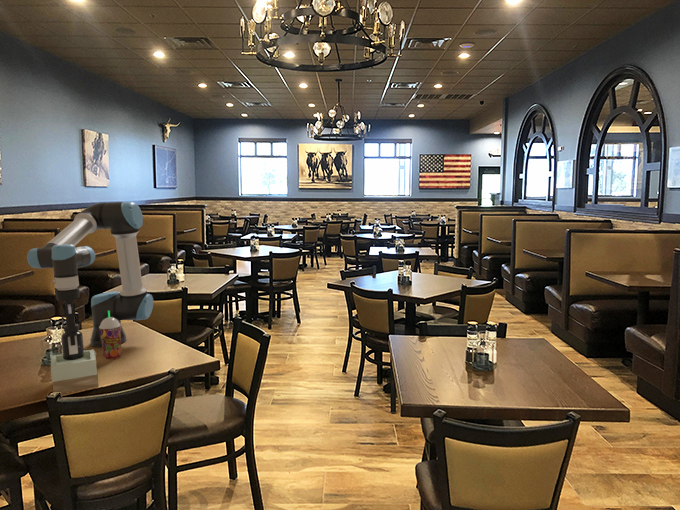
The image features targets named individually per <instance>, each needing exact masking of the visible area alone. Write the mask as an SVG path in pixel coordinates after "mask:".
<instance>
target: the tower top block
mask: <svg viewBox="0 0 680 510" xmlns="http://www.w3.org/2000/svg"><path fill="white" fill-rule="evenodd" d="M94 351H95V349H89V350H88V349H87V351H85V350H84V356H83V357H82V358H80V359H77V360H64V359H63V353H62V354H61V353H60V354H55V355H54V354H53V355H51V358H50V374H51V382H52V383H53V382H57V381H62V380H68V379H74V378H80V377H86V376H92V375H97V374H98V372H97V371H98V370H97V359H96V358H95V353H94Z"/></svg>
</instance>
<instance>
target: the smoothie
mask: <svg viewBox="0 0 680 510" xmlns="http://www.w3.org/2000/svg"><path fill="white" fill-rule="evenodd" d="M121 326H122V323H121V324H120V323H119V321H118V320H117V319H116V318H113V317H110V311H108V317H107V318H105V319H104V320H103V321H102V322H101V324H100V326H99V329H100V336H101V342H102V347H101V348H102V354H103V356H104V358H105V360H115V359H116V360H117V359H119V358H120V356H121V354H122V343H121Z"/></svg>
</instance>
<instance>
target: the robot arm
mask: <svg viewBox="0 0 680 510" xmlns="http://www.w3.org/2000/svg"><path fill="white" fill-rule="evenodd" d="M143 221H144V216H143V212H142V210H141V208H140V206H139V205H138V204H137V203H135V202H132V201H113V202H112V201H111V202H99V203H98V202H97V203H94V204H92V205H90V206H88V207H86V208H84V209H83V210H81V211H80V212H78V213H77V214H76V215H75V216H74V218H73V221H72V222H70V223H69V224H68V225H67V226H66V227H64V228H63V229H62V230H61V231H59V233H57V235H55V236H54V237H53V238H51V239H50V240H49V241H48V242H47V243H45V245H43V246H42V247H36V248H35V247H34V248H31V249H29V251H28V252H27V257H26V260H27V262H28V265H29V266H30V267H31V268H33V269H41V270H42V269H53V279H54V280H52V283H54V288H55V291H54V292H55V299H56V301H59V302H63V301H64V302H63V304H62V310H63V315H64V318H65V322H66V325H67V329H68V335H66V337H68V344H69V354H70V355H71V354H77V353H78V347H77V336H76V334H77V333H76V328H75V324H76V319H75V317H76V303H75V302H73V300H78V299H80V297H81V294H80V288H79V286H80V281H79V280H80V279H79V273H78V269H80V268H84V267H86V268H87V267H88V266H90V265H92V264H93V263H94V262H95V260H96V253H95V250H94V249H93V248H92V247H90V246H88V245H80V246H78V247H77V245H78V244H79V243H80V242H81V241H82V240H83V239H84V238H85V237H86V236H88V235H89V234H93V233H95V231H98V230H110V235H111V236H113V237H114V238H115V245H116V252H117V259H118V267H119V274H120V282H121V287H122V289H121V290H120V292H119V291H117V290H113V291H107V292H102V293H99V294H95V295H93V296H92V297H91V299H90V300H91V301H90V308H91V316H92V325H93V326H92V327H93V328H92V333H91V336H90V341H89V342H90V346H91V347H94V348H102V342H101V336H100V329H99V326H100V324H101V322H102V321H103V320H104V319H105V318H107V317H108V311H110V317H113V318H116V319H117V320H118V321H119V323H120V324H121V344H124V343H125V342H126V341H127V335H126V332H125V329H124V328H123V326H122V323H121V322H122V321H142V320H147V319H149V317H150V316H151V314H152V312H153V308H154V297H153V295H152V294H150V293H148V291H147V290H148V289H147V288H146V287H144V286H143V278H142V272H141V265H140V255H139V248H138V241H137V235H138V234H139V233H140V228H142V227H143V224H144V223H143ZM70 332H71V333H70Z"/></svg>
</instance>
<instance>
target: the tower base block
mask: <svg viewBox="0 0 680 510" xmlns="http://www.w3.org/2000/svg"><path fill="white" fill-rule="evenodd" d="M95 387H96V388H99V376H98V373H97V375H92V376H86V377H80V378H74V379H68V380H62V381H57V382H52V388H53V393H54V392H61V393H64V394H68V393H67V392H69V393H73V392H72V391H75V392H80V391H84V390H89V389H90V390H91V389H95ZM79 390H80V391H79Z"/></svg>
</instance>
